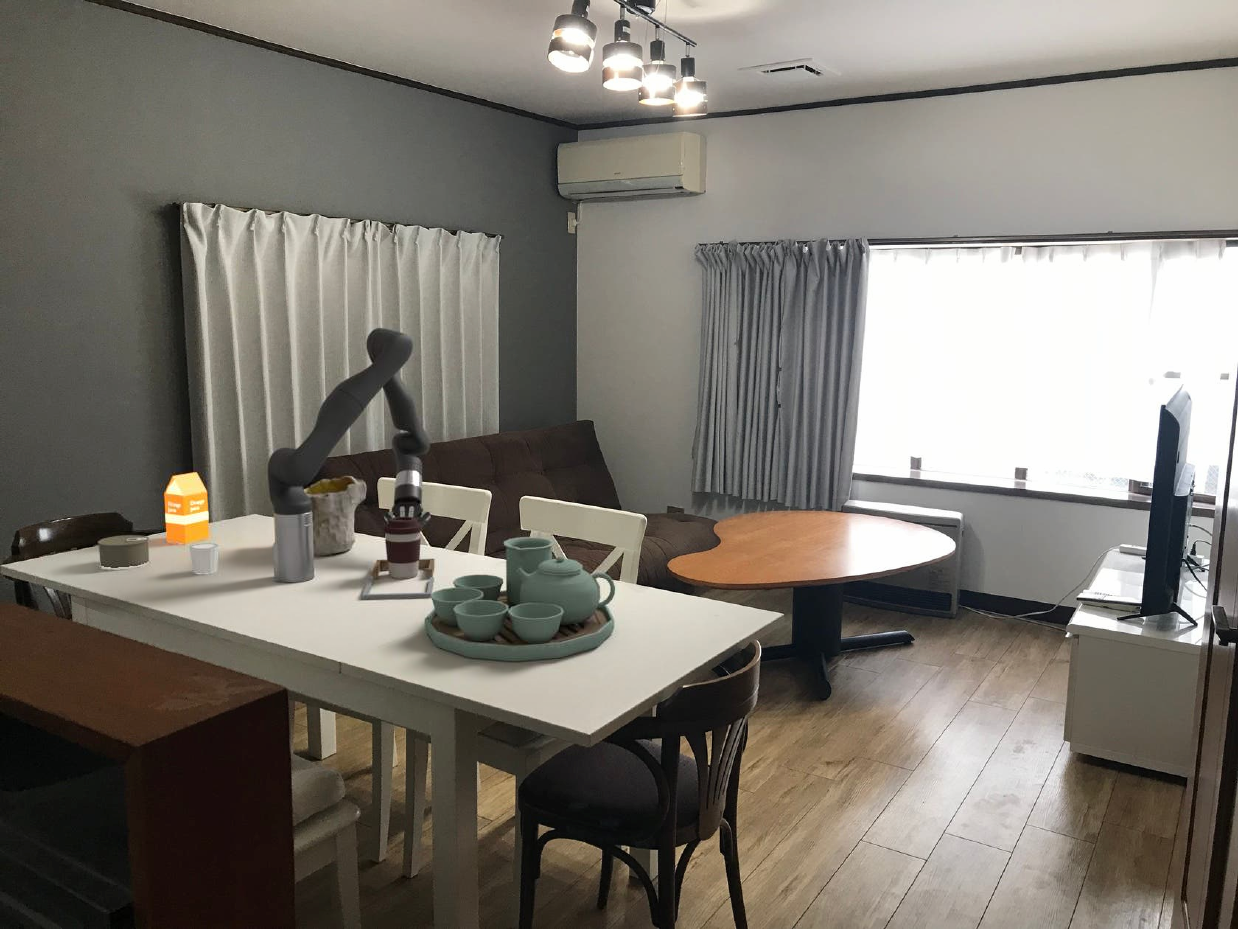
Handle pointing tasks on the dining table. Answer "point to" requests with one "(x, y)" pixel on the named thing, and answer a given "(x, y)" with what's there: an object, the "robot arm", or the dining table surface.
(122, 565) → the can
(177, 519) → the orange juice
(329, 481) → the ceramic vessel
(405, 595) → the grey bay
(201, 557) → the shot glass
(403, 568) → the coffee cup
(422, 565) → the cup holder
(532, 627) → the tea set
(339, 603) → the dining table surface
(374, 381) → the robot arm
